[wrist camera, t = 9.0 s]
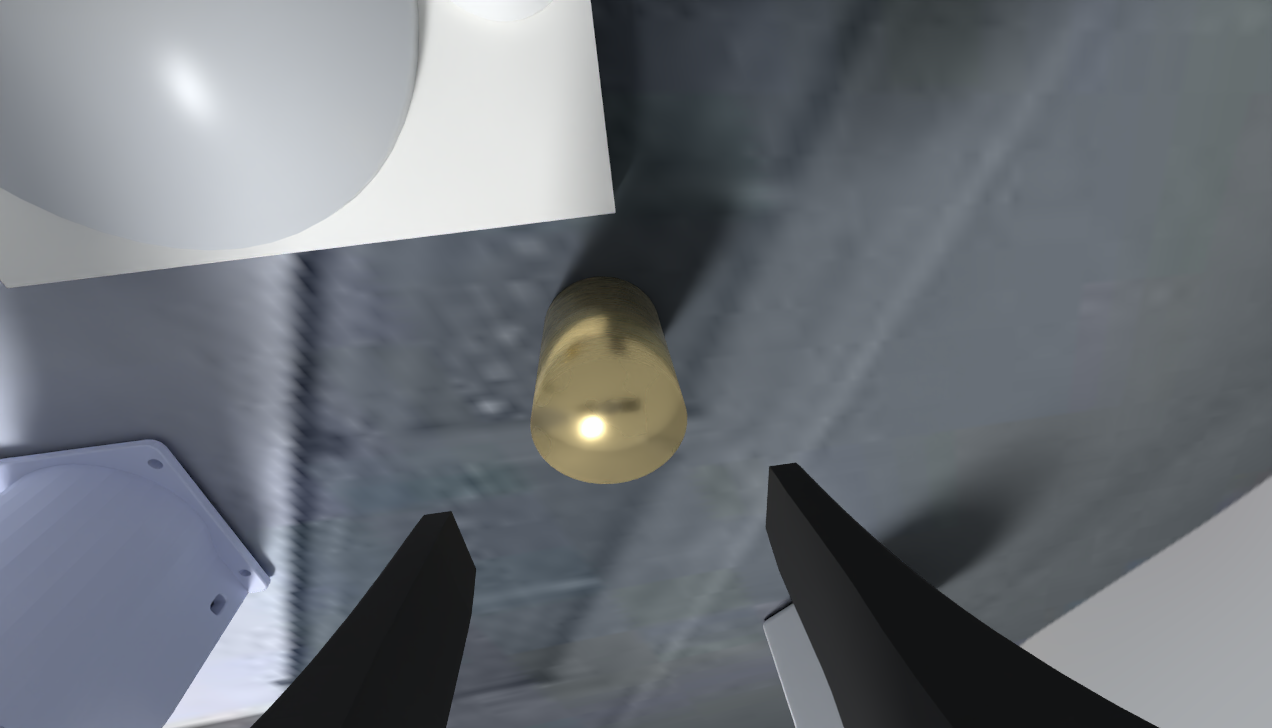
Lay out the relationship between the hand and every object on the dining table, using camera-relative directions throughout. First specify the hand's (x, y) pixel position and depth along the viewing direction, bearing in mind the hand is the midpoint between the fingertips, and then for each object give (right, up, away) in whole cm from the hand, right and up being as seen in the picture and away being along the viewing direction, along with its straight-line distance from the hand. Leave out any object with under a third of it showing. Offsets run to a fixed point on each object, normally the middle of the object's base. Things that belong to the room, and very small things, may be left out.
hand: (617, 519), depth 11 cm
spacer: (-1, +5, +8) cm, 9 cm away
